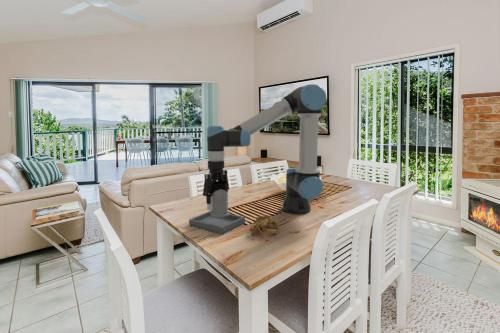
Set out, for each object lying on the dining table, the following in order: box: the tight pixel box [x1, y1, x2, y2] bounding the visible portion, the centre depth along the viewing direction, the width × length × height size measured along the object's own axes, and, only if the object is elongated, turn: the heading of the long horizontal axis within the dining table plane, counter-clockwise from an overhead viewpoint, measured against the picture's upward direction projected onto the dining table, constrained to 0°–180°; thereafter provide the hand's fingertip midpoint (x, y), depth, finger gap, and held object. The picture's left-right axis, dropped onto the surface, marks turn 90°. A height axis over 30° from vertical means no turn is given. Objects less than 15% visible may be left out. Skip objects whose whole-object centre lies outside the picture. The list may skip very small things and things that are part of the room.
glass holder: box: [210, 180, 230, 217], centre depth 139 cm, size 9×14×15 cm, turn 16°
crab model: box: [248, 215, 280, 238], centre depth 132 cm, size 15×13×6 cm
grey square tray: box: [188, 210, 246, 235], centre depth 140 cm, size 20×17×3 cm
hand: (216, 207), depth 139 cm, fingers closed on glass holder, 9 cm apart
